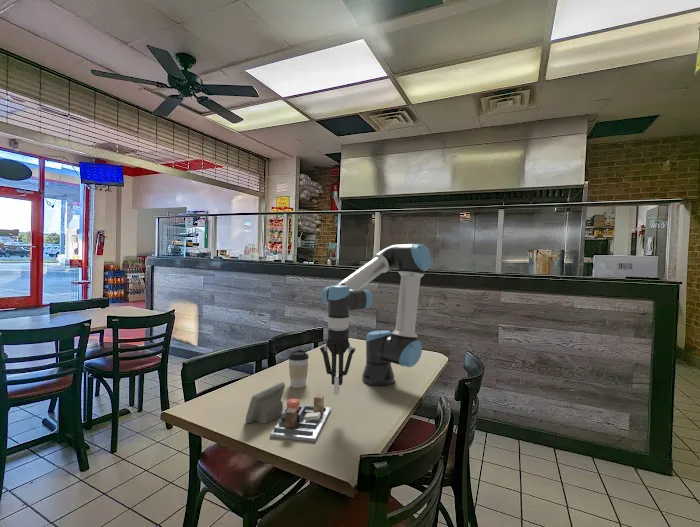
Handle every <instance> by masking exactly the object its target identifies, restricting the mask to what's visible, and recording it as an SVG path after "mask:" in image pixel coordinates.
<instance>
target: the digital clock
mask: <svg viewBox="0 0 700 527" xmlns="http://www.w3.org/2000/svg"><path fill="white" fill-rule="evenodd" d="M285 388H286V383H285V382H284V381H283V382H278V383H276V384H273V385H271V386H270V387H269V386H268V387H267V388H265V389H263V390H260V391H258V392H257V393H254V394H253V395H252V396H251V399H250V402H249V404H248V408H247V413H246V415H245V423H246V424H251V423H253V422H258V423H261V424H264V425H267V424H268V423H270V422H272V421H274V420H275V419H276V418H278V417H281V412H282V411H283V410H284V409H283V408H284V407H283V401H282V398H283V394H284V391H285Z"/></svg>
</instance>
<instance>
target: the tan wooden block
mask: <svg viewBox="0 0 700 527" xmlns="http://www.w3.org/2000/svg"><path fill="white" fill-rule="evenodd" d="M324 403H325V395H324V394H323V393H322V394H320V393H319V394H318V393H315V395H314V396H313V406H314V411H316V412H323V411H324V407H325V404H324Z"/></svg>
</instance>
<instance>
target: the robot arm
mask: <svg viewBox="0 0 700 527" xmlns="http://www.w3.org/2000/svg"><path fill="white" fill-rule="evenodd" d="M431 265H432V256H431V252H430V250H429V248H428V247H427V246H426V245H424V244H422V243H421V244H420V243H408V244H407V243H405V244H404V243H403V244H400V243H397V244H392V245H389V246H388V247H386V248H384V249H381V250H379V251H378V252H377V253H375V254H374V255H373V256H372V259H371V260H369V261H368V262H367V263H365V264H364V265H362V266H361V267H359V268H358V269H357V270H355V271H354V272H352V273H351V274H349V275H348V276H347V277H345V278H344V279H343V280H340V282H338V283H337V284H335V285H330V286H325V287H323V289H322V290H321V294H320V299H321V301H322V303H323V304H324V305H328V306H327V308H328V310H327V312H328V313H327V314H328V315H327V316H328V317H327V327H328V329H327V340H326V344H324V345H322V346H321V347H320V348H319V350H320V352H321V354H322V357H323V361H324V366H325V371H326V374H327V375H330V376H331V385H332V386H333V388H334V390H333V395H335V396H338V395H339V394H340V393H341V392H340V391H341V390H340V389H341V388H340V387H341V386H342V385H343V383H344V382H343V378H344V376H347V375H348V373H349V369H350V366H351V362H352V358H353V354H354V353H355V352H356V348H355V347H353V346H351V345H350V344H351V343H350V342H349V329H348V328H350V312H351V311H360V310H363V311H364V310H366V309H369V308H371V307H372V305H373V304H374V301H373V300H374V297H373V294H372V292H371V291H370V290H369V289H362V288H364V287H365V286H366V285H368V284H369V283H370V282H372V281H373V280H374V279H375V278H377V277H378V276H380V275H381V274H382V273H383V274H385V273H387V272H388V271H392V270H397V271H398V274H399V275H400V284H399V294H398V301H397V302H398V304H397V311H396V318H395V319H396V320H395V329H394V330H393V331H392V332H391V330H375V331H373V330H372V331H370V332H368V333H367V334H366V339H365V340H366V341H365V343H366V344H365V347H366V348H365V350H366V351H365V352H366V353H365V356H366V357H365V359H366V360H365V366H364V369H363V372H362V375H361V376H362V378H361V380H362V382H363V383H365V384H367V385H369V386H374V387H375V386H376V387H385V386H390V385H393V383H395V373H394V370H393V367H392V364H394V365H395V364H396V365H398V366H401V367H406V368H412V367H414V366H415V365H416V364H418V362H419V361H420V359H421V357H422V353H423V346H422V343H421V342H420V341H419V340H418V338H419V337H418V334H417V332H416V324H417V314H418V305H419V304H418V303H419V294H420V285H421V278H422V277H424V276H425V272H426V271H427V270H429V269H430V267H431ZM328 350H329V352H330V353H331V362H330V356H329V352H328ZM347 350H348V351H347ZM346 352H348V356H347V357H346V358H347V359H346V363H345V366H344V355H345V353H346ZM337 356H338V374H337Z"/></svg>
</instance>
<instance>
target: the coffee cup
mask: <svg viewBox="0 0 700 527" xmlns="http://www.w3.org/2000/svg"><path fill="white" fill-rule="evenodd" d="M287 358H288V370H289V380H290V387H291V388H294V389H302V388H305V387H306V386H307V378H308V370H309V368H308V367H309V354H308V353H307V352H306V351H304V350H303V349H298V350H295V351H292V352H290V354H289V355H288V357H287Z"/></svg>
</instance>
